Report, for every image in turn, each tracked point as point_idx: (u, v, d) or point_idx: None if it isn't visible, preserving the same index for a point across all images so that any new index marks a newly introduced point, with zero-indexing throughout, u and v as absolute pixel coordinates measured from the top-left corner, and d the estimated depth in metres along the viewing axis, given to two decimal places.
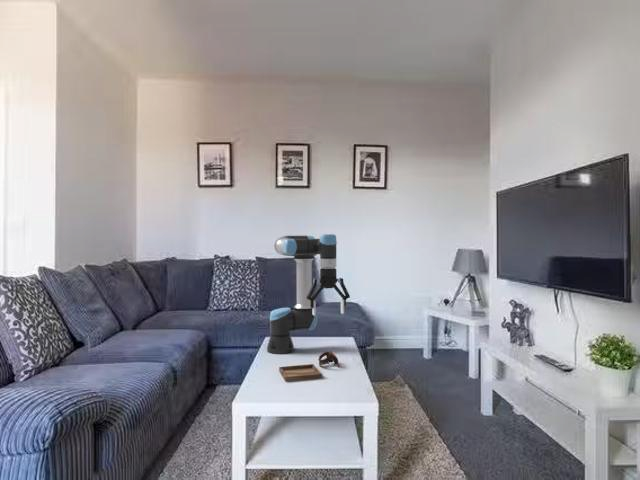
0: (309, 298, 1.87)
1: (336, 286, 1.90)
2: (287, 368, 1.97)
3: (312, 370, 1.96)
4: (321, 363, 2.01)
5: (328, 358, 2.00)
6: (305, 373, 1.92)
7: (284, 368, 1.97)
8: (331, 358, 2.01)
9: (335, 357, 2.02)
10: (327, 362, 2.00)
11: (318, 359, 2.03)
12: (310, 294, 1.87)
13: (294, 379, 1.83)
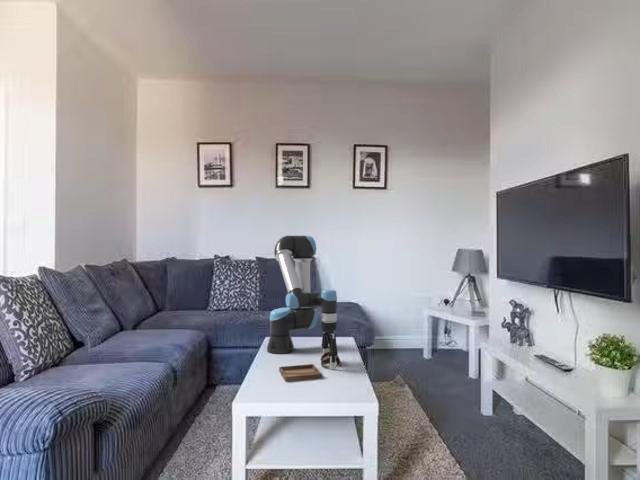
0: (321, 345, 2.13)
1: (327, 340, 2.02)
2: (287, 368, 1.97)
3: (312, 370, 1.96)
4: (323, 363, 2.01)
5: None
6: (305, 373, 1.92)
7: (284, 368, 1.97)
8: None
9: (337, 357, 2.02)
10: (329, 362, 2.00)
11: (320, 359, 2.03)
12: (322, 342, 2.13)
13: (294, 379, 1.83)
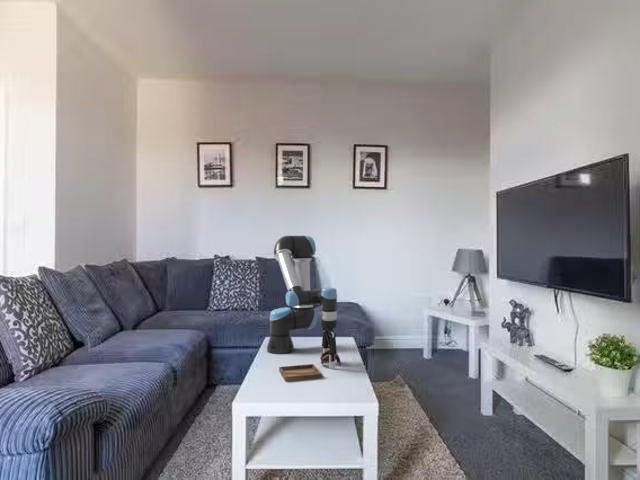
0: (322, 345, 2.12)
1: (327, 338, 2.02)
2: (287, 368, 1.97)
3: (312, 370, 1.96)
4: (322, 361, 2.03)
5: None
6: (305, 373, 1.92)
7: (284, 368, 1.97)
8: None
9: (337, 356, 2.03)
10: (328, 361, 2.01)
11: (320, 357, 2.05)
12: (322, 341, 2.12)
13: (294, 379, 1.83)
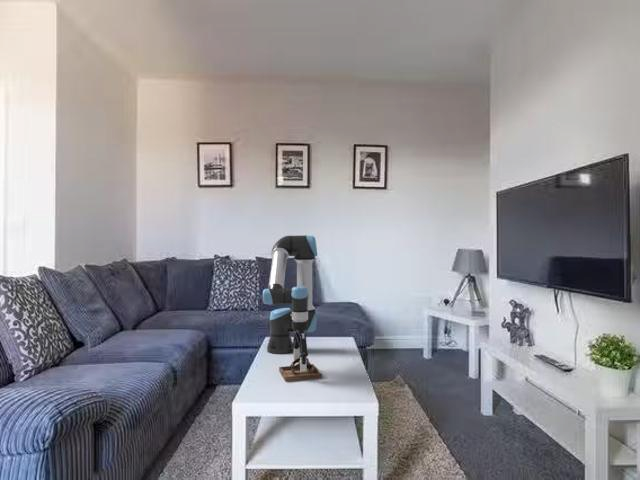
0: (293, 345, 2.00)
1: (297, 340, 1.88)
2: (287, 368, 1.97)
3: None
4: (292, 369, 1.89)
5: (299, 364, 1.88)
6: (305, 373, 1.92)
7: (284, 368, 1.97)
8: None
9: (308, 364, 1.89)
10: (298, 369, 1.87)
11: (290, 365, 1.91)
12: (293, 341, 2.00)
13: (294, 379, 1.83)
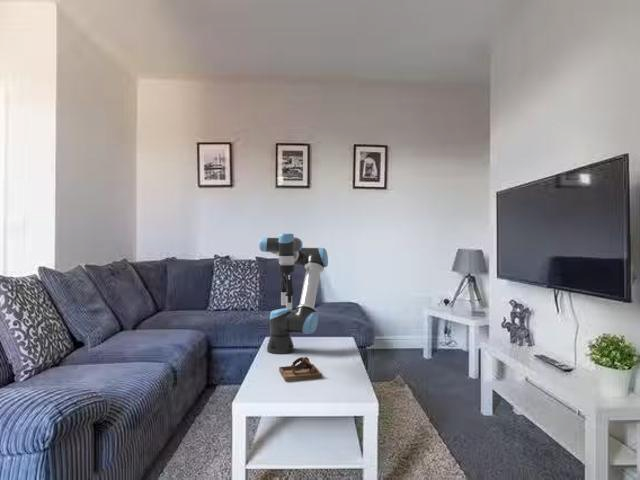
0: (280, 289, 2.15)
1: (284, 282, 2.03)
2: (287, 368, 1.97)
3: None
4: (293, 370, 1.89)
5: (300, 365, 1.87)
6: (305, 373, 1.92)
7: (284, 368, 1.97)
8: (303, 365, 1.88)
9: (308, 364, 1.89)
10: (299, 369, 1.87)
11: (291, 365, 1.91)
12: None
13: (294, 379, 1.83)
